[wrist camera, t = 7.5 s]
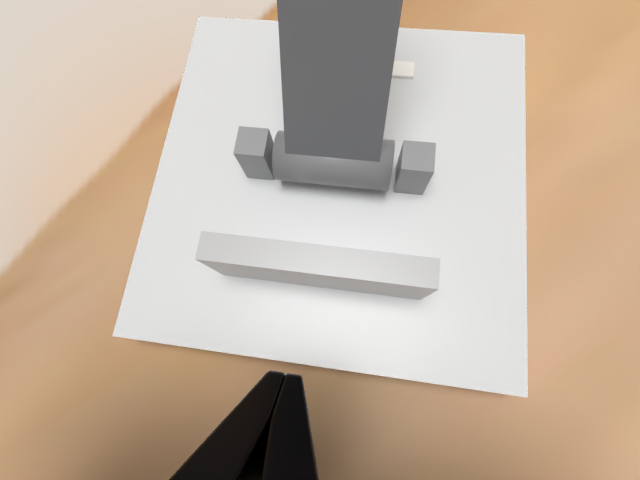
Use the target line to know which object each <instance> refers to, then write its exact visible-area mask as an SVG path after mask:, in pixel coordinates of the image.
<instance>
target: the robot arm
mask: <svg viewBox="0 0 640 480" xmlns="http://www.w3.org/2000/svg"><path fill="white" fill-rule="evenodd" d="M169 480H319V477H318V471H317V464H316V458H315V452H314V446H313V440H312V434H311V428H310V422H309V415H308V409H307V403H306V397H305V391H304V385H303V379H302V376H301V375H297V374H290V373H287V374H286V375H285V374H284V373H283V372H277V371H269V372H267V373H266V374H265V375H264V377H263V378H262V379H261V380H260V381H259V382H258V383H257V384H256V385H255V386H254V387H253V389H252V390H251V391H250V392H249V393H248V394H247V395H246V396H245V397H244V398H243V399H242V401H241V402H240V403H239V404H238V405H237V406H236V407H235V408H234V409H233V410H232V411H231V413H230V414H229V415H228V416H227V417H226V418H225V419H224V420H223V421H222V422H221V424H220V425H219V426H218V427H217V428H216V429H215V430H214V431H213V432H212V433H211V434H210V436H209V437H208V438H207V439H206V440H205V441H204V442H203V443H202V444H201V445H200V446H199V448H198V449H197V450H196V451H195V452H194V453H193V454H192V455H191V456H190V457H189V458H188V460H187V461H186V462H185V463H184V464H183V465H182V466H181V467H180V468H179V469H178V470H177V472H176V473H175V474H174V475H173V476H172V477H171V478H170V479H169Z"/></svg>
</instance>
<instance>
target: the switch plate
mask: <svg viewBox="0 0 640 480" xmlns="http://www.w3.org/2000/svg"><path fill="white" fill-rule="evenodd" d="M279 130H281V131H284V120H283V101H282V83H281V64H280V46H279V27H278V21H270V20H252V19H234V18H217V17H199V19H198V23H197V27H196V30H195V34H194V38H193V41H192V45H191V48H190V52H189V56H188V60H187V63H186V67H185V70H184V74H183V78H182V82H181V85H180V89H179V93H178V96H177V100H176V104H175V107H174V111H173V115H172V118H171V122H170V126H169V129H168V133H167V137H166V140H165V144H164V148H163V151H162V155H161V159H160V163H159V166H158V170H157V174H156V177H155V181H154V185H153V188H152V192H151V196H150V199H149V203H148V207H147V210H146V214H145V218H144V221H143V225H142V229H141V233H140V236H139V240H138V244H137V247H136V251H135V255H134V258H133V262H132V266H131V269H130V273H129V277H128V280H127V284H126V288H125V291H124V295H123V299H122V303H121V306H120V310H119V314H118V317H117V321H116V325H115V328H114V332H113V336H115V337H122V338H129V339H135V340H142V341H149V342H156V343H162V344H169V345H176V346H183V347H189V348H196V349H203V350H210V351H216V352H223V353H230V354H237V355H243V356H250V357H257V358H264V359H270V360H277V361H284V362H291V363H297V364H304V365H311V366H318V367H324V368H331V369H338V370H345V371H351V372H358V373H365V374H372V375H378V376H385V377H392V378H399V379H405V380H412V381H419V382H426V383H432V384H439V385H446V386H453V387H459V388H466V389H473V390H480V391H486V392H493V393H500V394H507V395H513V396H520V397H527V398H528V374H527V246H526V118H525V35H521V34H503V33H485V32H467V31H449V30H432V29H414V28H399V30H398V37H397V44H396V51H395V58H394V65H393V72H392V79H391V86H390V93H389V100H388V107H387V114H386V121H385V128H384V135H383V139H387V140H395V150H394V160H393V168H392V175H391V181H390V186H389V190H388V191H382V190H371V189H361V188H351V187H341V186H331V185H321V184H311V183H301V182H291V181H281V180H275V178H274V176H273V169H272V153H273V145H274V140H275V136H276V134H277V132H278V131H279Z"/></svg>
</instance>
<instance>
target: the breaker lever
mask: <svg viewBox="0 0 640 480" xmlns="http://www.w3.org/2000/svg"><path fill="white" fill-rule="evenodd" d="M402 2H403V0H277V8H278V27H279V46H280V64H281V83H282V101H283V120H284V131H281V130H279V131H278V132H277V134H276V136H275V140H274V145H273V153H272V169H273V176H274V178H275V180H281V181H291V182H301V183H311V184H321V185H331V186H341V187H351V188H361V189H371V190H382V191H388V190H389V186H390V181H391V175H392V168H393V160H394V150H395V140H387V139H383V135H384V128H385V121H386V114H387V107H388V100H389V93H390V86H391V79H392V72H393V65H394V58H395V51H396V44H397V37H398V30H399V23H400V16H401V9H402Z"/></svg>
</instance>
